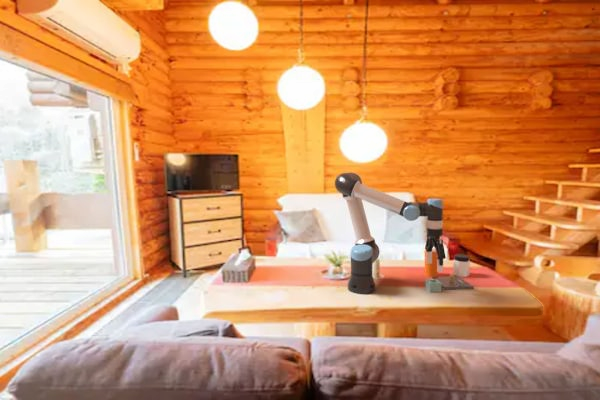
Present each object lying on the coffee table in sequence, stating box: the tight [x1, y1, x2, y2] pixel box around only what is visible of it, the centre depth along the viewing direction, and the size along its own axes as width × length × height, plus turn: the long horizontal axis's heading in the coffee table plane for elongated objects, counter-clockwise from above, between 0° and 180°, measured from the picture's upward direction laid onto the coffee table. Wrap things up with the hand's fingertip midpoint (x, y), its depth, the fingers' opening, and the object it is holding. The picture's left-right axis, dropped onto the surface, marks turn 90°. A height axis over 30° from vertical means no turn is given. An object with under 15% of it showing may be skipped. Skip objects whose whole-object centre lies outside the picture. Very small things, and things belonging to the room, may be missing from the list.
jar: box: [452, 253, 471, 278], centre depth 198 cm, size 9×8×12 cm
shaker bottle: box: [423, 242, 439, 278], centre depth 198 cm, size 9×9×20 cm
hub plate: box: [431, 273, 474, 291], centre depth 183 cm, size 16×16×6 cm
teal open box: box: [425, 278, 442, 293], centre depth 175 cm, size 6×6×5 cm
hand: (434, 267), depth 174 cm, fingers open, 13 cm apart
